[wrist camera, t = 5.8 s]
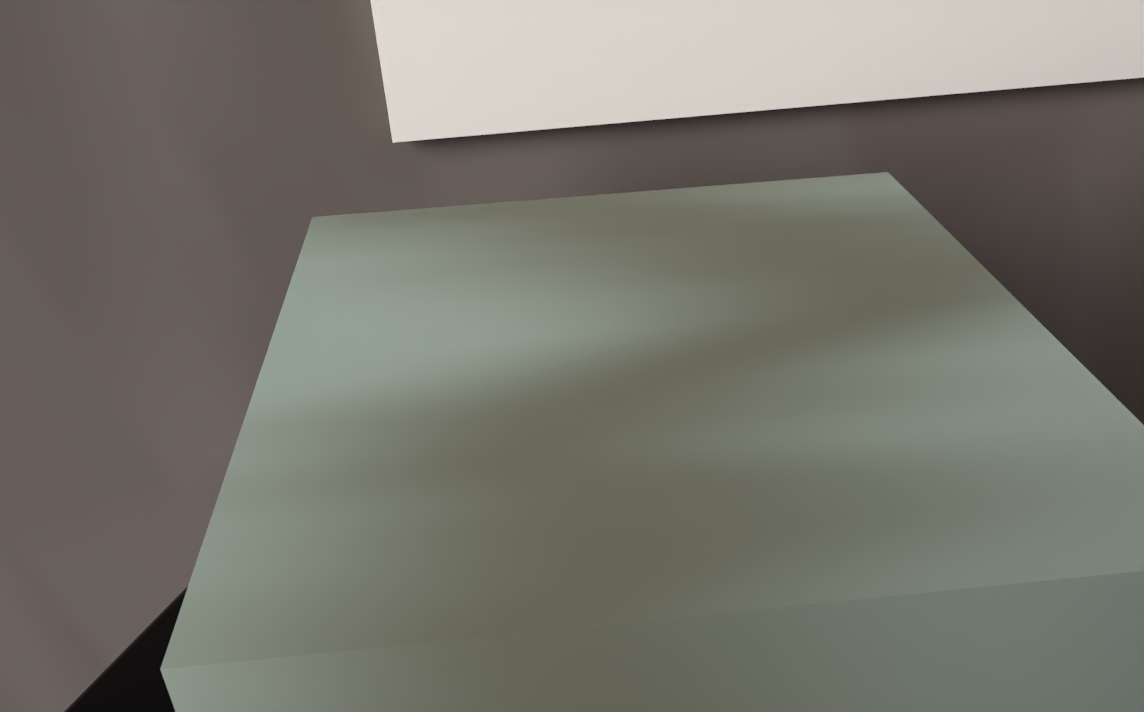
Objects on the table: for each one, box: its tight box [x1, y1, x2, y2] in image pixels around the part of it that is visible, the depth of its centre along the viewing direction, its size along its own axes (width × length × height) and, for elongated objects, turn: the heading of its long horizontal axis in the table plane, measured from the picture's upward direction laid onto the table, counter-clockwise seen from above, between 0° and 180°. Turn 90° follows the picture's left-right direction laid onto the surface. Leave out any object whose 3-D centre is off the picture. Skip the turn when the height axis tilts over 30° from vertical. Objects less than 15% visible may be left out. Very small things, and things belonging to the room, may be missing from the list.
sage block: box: [160, 172, 1144, 712], centre depth 8 cm, size 5×5×5 cm
